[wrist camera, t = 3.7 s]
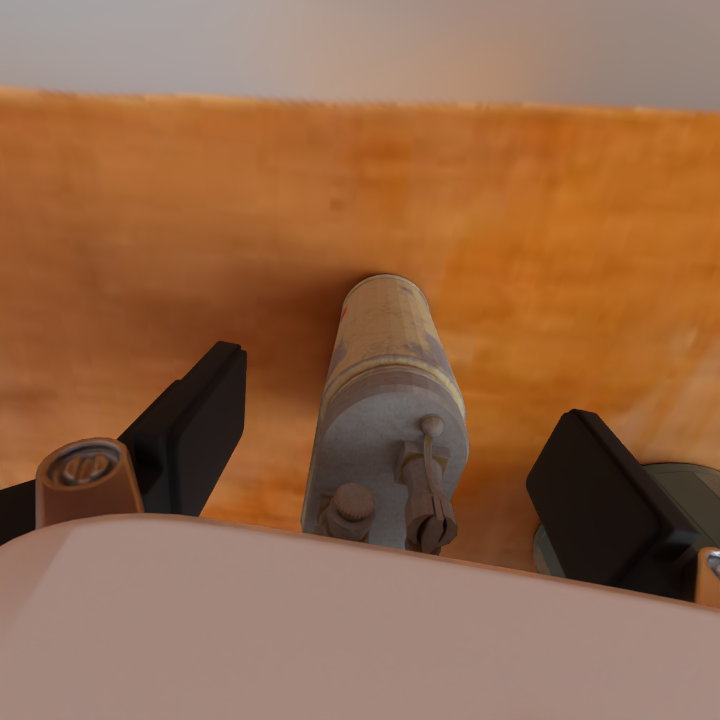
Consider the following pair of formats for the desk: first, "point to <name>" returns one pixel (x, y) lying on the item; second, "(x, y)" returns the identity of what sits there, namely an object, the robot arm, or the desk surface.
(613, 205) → the desk surface
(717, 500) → the pen cup
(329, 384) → the lighter
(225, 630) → the robot arm
